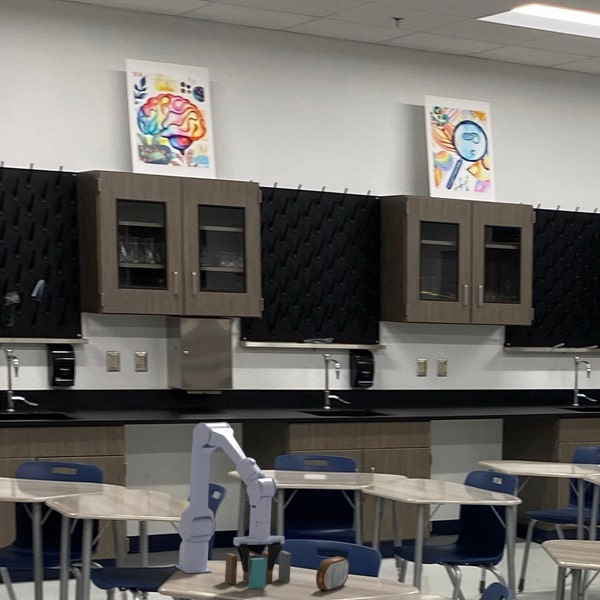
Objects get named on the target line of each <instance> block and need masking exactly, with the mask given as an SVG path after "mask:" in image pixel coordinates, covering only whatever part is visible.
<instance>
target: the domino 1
mask: <svg viewBox="0 0 600 600" xmlns="http://www.w3.org/2000/svg"><path fill="white" fill-rule="evenodd" d="M238 557H239V556H238V555H236V554H234V553H232V552H227V553H226V555H225V572H224V574H225V575H224V582H225V581H226V582H228V583H230V584H236V585H237V575H238V574H237V573H238V571H237V570H238ZM226 582H225V583H226ZM228 583H227V584H228ZM230 584H229V585H230Z"/></svg>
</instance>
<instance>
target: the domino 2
mask: <svg viewBox="0 0 600 600" xmlns="http://www.w3.org/2000/svg"><path fill="white" fill-rule="evenodd" d="M253 558H257V557H256V554H254V553H252V552H250V553H249V559H248V572H244V571H243V570H242V581H243V580H244V581H246V582H247V583H246V582H245V583H246V584H248V583H249V564H250V559H253ZM244 581H243V582H244Z"/></svg>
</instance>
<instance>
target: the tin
mask: <svg viewBox="0 0 600 600" xmlns="http://www.w3.org/2000/svg"><path fill="white" fill-rule="evenodd" d="M349 570H350V563H349V560H348V559H347V558H345V557H341V556H340V555H339V556H338V555H337V556H334V557H330V558H329V557H328V558H326V559H323V560H322V561H321V562H320V564H319V565H318V568H317V570H316V576H315V582H316V583H315V584H316V587H317V588H318V589H319V590H323V591H327V592H328V591H332V590H334V589H339V588H342V587H343V586H344V585H345V584H346V583H347V580H348V577H349Z"/></svg>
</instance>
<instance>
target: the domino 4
mask: <svg viewBox="0 0 600 600" xmlns="http://www.w3.org/2000/svg"><path fill="white" fill-rule="evenodd" d="M278 556H279V557H278V573H277V574H278V575H277V576H278V577H277V579H278V580H279V579H280V580H279V581H281V580H282V581H281V582H283V583H291V582H290V581H291V566H292V565H291V563H292V553H290V552H288V551H286V550H281V551H280V553H279V555H278Z"/></svg>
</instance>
